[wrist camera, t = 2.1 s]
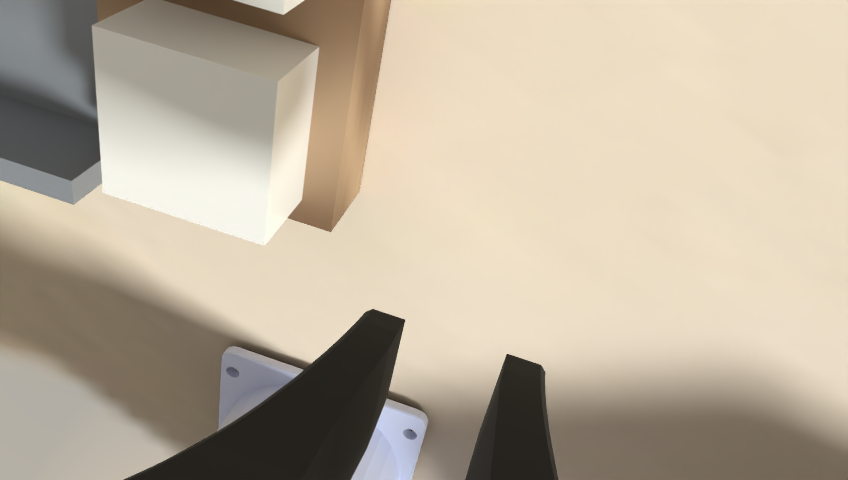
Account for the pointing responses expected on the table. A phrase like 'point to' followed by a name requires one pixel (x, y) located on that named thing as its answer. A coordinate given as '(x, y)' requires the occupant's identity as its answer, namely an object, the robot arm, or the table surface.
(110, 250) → the table surface
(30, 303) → the table surface
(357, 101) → the ledge
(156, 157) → the tile
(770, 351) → the table surface
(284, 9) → the tile
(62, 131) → the tray
